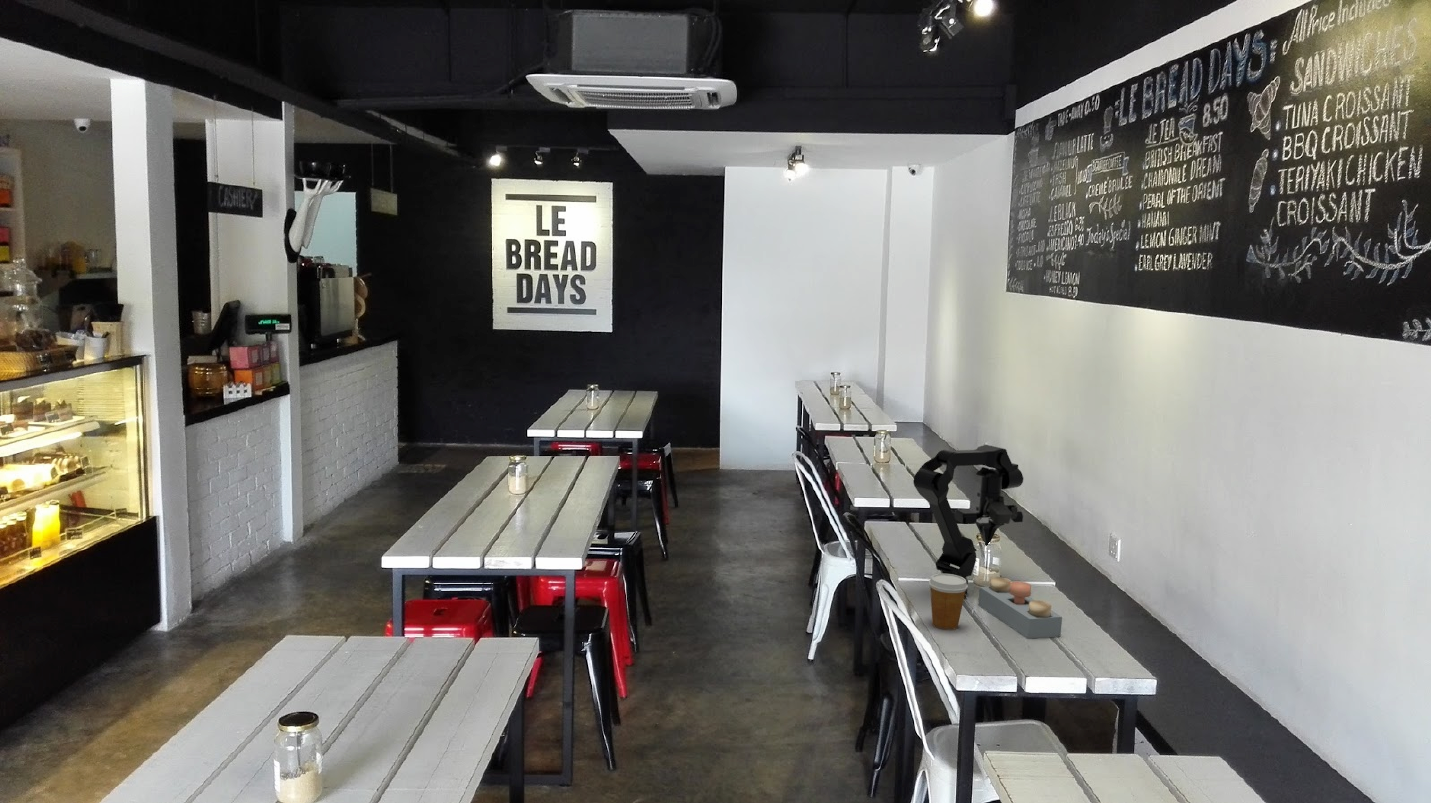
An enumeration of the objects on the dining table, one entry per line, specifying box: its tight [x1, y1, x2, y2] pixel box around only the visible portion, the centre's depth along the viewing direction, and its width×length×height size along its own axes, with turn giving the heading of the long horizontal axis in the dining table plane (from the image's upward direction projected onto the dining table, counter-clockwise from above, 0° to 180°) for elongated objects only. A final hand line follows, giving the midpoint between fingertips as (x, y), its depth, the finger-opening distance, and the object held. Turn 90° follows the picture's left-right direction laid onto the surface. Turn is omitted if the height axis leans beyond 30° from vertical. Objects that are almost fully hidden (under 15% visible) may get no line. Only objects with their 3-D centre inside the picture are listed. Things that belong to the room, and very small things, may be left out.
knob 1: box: [989, 576, 1012, 593], centre depth 268 cm, size 5×5×7 cm
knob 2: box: [1029, 599, 1052, 618], centre depth 251 cm, size 5×5×7 cm
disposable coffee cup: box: [928, 573, 969, 630], centre depth 254 cm, size 10×10×12 cm
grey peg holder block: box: [977, 585, 1063, 640], centre depth 260 cm, size 9×24×5 cm, turn 15°
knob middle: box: [1009, 580, 1032, 605], centre depth 259 cm, size 5×5×7 cm
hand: (986, 545), depth 284 cm, fingers closed
